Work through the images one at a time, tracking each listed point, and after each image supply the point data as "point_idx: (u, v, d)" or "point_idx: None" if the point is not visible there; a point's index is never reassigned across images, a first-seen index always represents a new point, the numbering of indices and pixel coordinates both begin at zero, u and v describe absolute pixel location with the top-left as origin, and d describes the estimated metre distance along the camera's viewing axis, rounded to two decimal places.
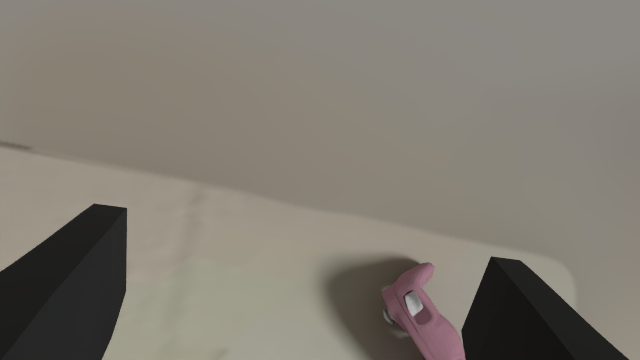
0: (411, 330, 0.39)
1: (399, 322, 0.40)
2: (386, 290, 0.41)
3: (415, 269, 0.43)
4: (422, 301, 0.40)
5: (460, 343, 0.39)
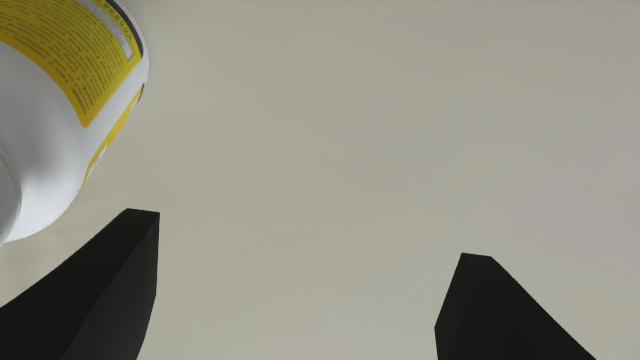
0: None
1: None
2: None
3: None
4: None
5: None
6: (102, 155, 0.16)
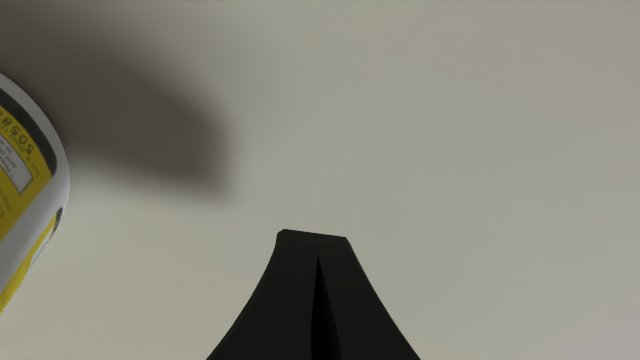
0: None
1: None
2: None
3: None
4: None
5: None
6: None
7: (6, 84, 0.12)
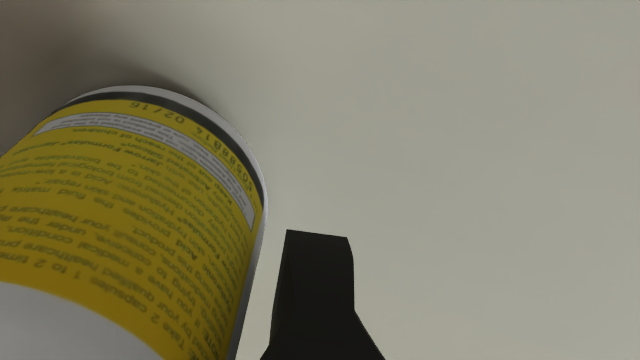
0: None
1: None
2: None
3: None
4: None
5: None
6: None
7: (222, 122, 0.12)
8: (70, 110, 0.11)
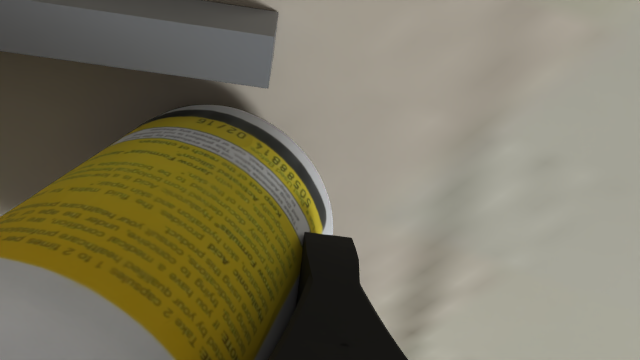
0: None
1: None
2: None
3: None
4: None
5: None
6: None
7: (287, 140, 0.12)
8: (146, 125, 0.12)
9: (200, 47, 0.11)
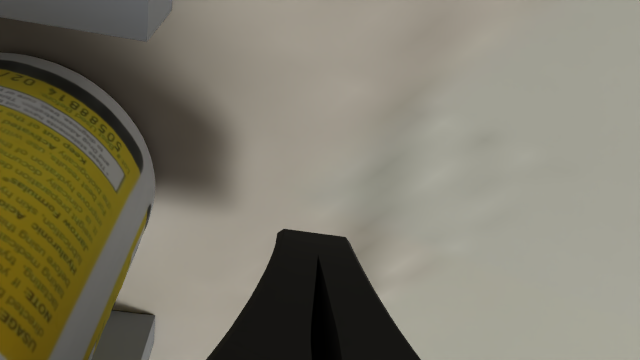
0: None
1: None
2: None
3: None
4: None
5: None
6: None
7: (86, 83, 0.11)
8: None
9: None
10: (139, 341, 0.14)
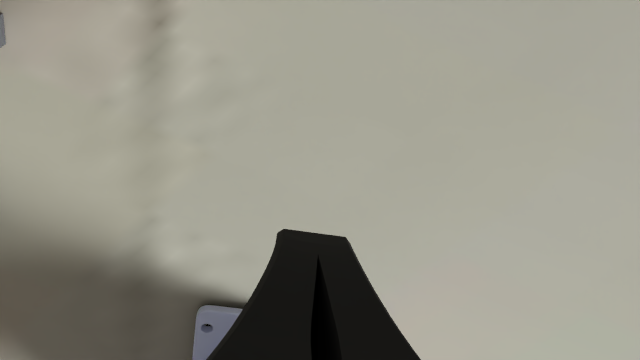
0: None
1: None
2: None
3: None
4: None
5: None
6: None
7: None
8: None
9: None
10: None
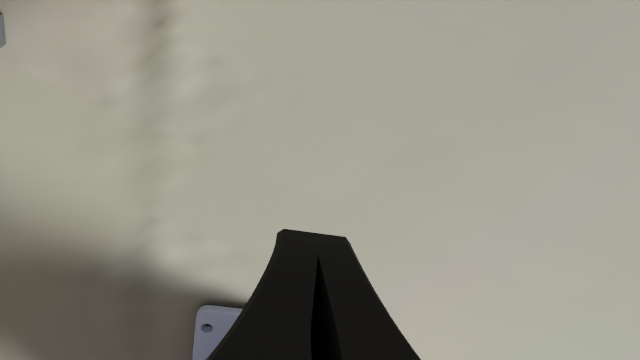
0: None
1: None
2: None
3: None
4: None
5: None
6: None
7: None
8: None
9: None
10: None
